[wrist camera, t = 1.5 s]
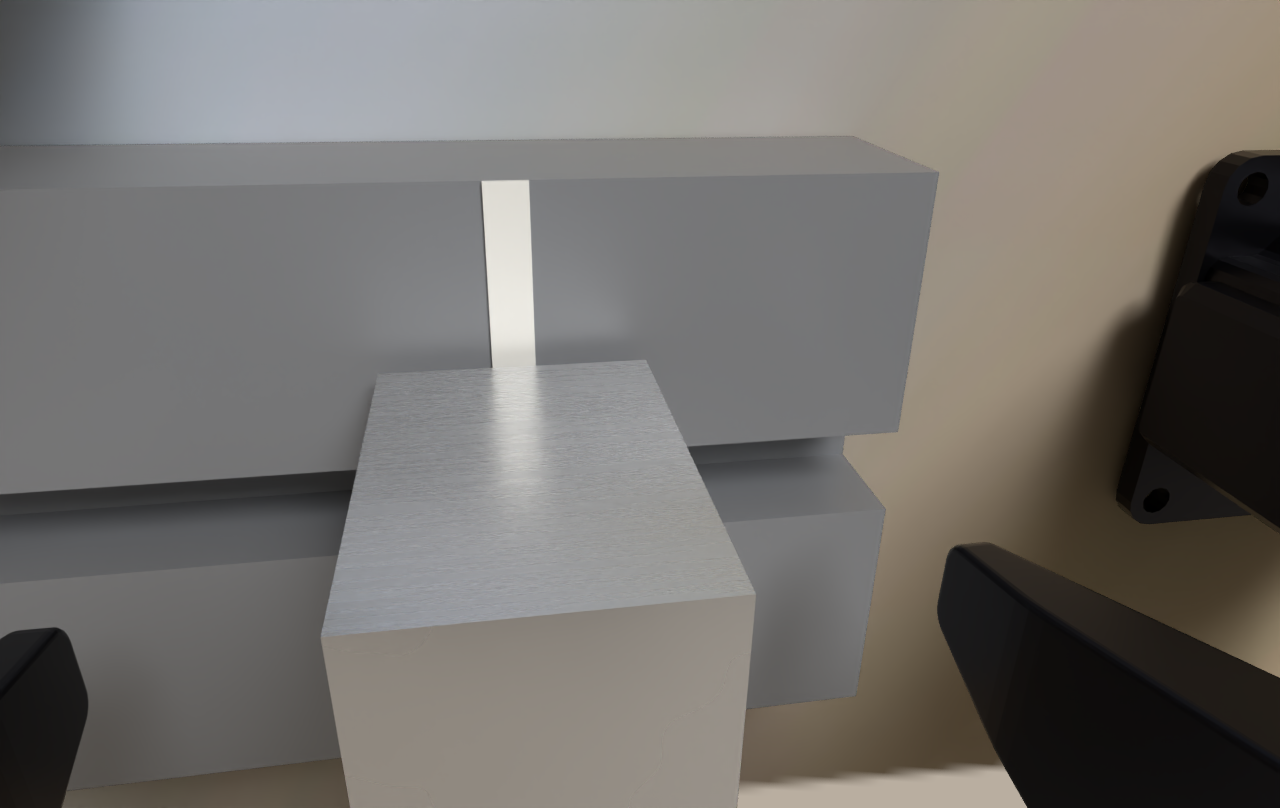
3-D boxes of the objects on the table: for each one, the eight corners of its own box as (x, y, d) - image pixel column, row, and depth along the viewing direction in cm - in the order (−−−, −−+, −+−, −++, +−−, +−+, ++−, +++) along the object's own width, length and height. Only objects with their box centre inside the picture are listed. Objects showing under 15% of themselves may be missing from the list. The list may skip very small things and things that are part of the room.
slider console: (852, 135, 13) (941, 173, 10) (799, 592, 16) (857, 698, 14) (-942, 157, 9) (-1412, 217, 7) (-528, 724, 13) (-751, 893, 10)
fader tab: (622, 311, 12) (755, 594, 6) (620, 560, 14) (724, 948, 8) (389, 320, 11) (320, 637, 6) (417, 578, 13) (384, 1006, 8)
